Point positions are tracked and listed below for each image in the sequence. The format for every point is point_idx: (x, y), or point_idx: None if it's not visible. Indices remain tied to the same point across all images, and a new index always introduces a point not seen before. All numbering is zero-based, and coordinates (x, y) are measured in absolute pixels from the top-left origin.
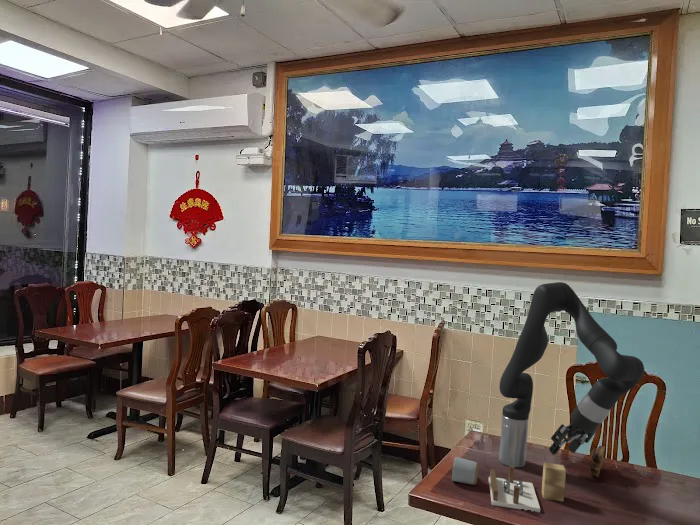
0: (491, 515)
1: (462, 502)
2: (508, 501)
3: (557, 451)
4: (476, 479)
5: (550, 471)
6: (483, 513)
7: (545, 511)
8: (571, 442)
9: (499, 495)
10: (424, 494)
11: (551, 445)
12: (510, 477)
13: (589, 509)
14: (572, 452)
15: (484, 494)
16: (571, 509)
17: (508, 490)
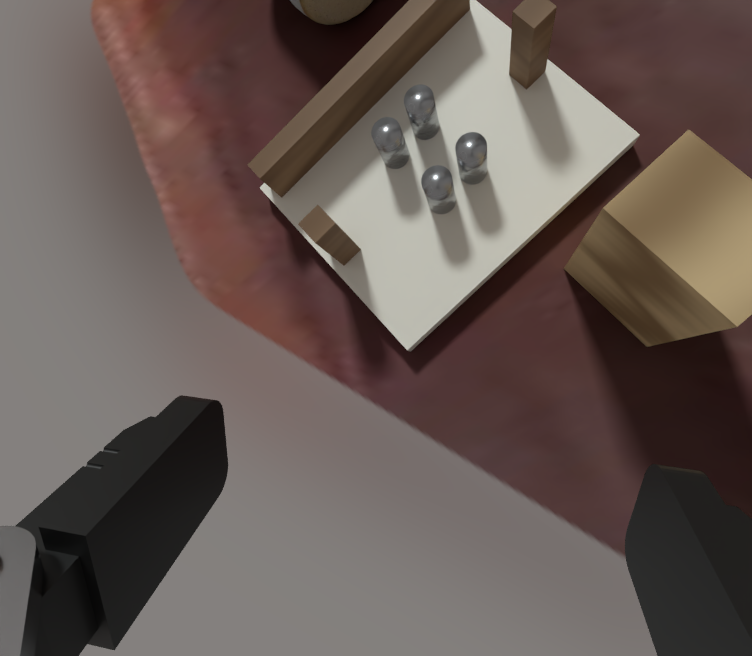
0: (196, 257)
1: (179, 125)
2: None
3: (179, 539)
4: (315, 15)
5: (625, 243)
6: (182, 230)
7: (446, 359)
8: (705, 559)
9: (335, 163)
10: (104, 15)
11: (136, 438)
12: (515, 61)
13: (715, 483)
14: (628, 546)
15: None
16: (604, 422)
17: (387, 161)
